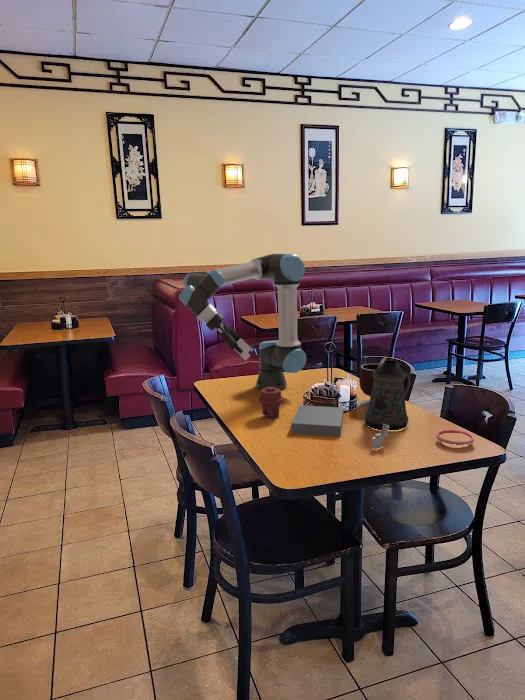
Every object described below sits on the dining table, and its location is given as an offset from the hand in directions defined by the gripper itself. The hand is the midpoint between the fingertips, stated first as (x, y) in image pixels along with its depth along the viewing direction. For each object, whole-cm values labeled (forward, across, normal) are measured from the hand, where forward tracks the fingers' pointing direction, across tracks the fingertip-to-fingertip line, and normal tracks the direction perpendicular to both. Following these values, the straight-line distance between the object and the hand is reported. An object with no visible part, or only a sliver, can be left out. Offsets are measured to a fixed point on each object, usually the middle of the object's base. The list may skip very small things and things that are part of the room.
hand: (248, 354), depth 210 cm
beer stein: (+56, +13, +21) cm, 61 cm away
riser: (+37, +15, +2) cm, 40 cm away
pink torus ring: (+70, +33, +35) cm, 85 cm away
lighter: (+51, +37, +16) cm, 65 cm away
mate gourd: (+56, -11, +21) cm, 61 cm away
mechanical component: (+24, +5, -11) cm, 27 cm away
